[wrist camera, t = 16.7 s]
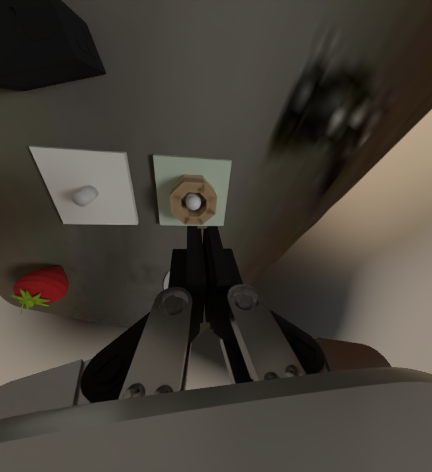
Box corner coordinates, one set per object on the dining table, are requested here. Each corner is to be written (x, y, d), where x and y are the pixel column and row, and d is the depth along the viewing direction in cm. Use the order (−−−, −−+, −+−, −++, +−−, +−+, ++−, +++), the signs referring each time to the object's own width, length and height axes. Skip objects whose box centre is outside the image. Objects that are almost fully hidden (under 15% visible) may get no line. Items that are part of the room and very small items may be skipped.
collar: (163, 194, 30) (160, 204, 26) (193, 165, 28) (194, 172, 24) (192, 220, 33) (193, 232, 30) (221, 196, 31) (225, 206, 28)
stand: (34, 145, 24) (6, 150, 21) (126, 152, 26) (115, 158, 23) (66, 221, 31) (50, 235, 27) (138, 222, 33) (132, 235, 29)
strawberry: (80, 280, 39) (51, 323, 31) (38, 273, 37) (-5, 318, 28) (81, 261, 36) (50, 303, 28) (36, 252, 34) (-13, 295, 26)
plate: (154, 154, 27) (147, 161, 23) (230, 159, 29) (237, 167, 24) (160, 222, 34) (156, 237, 29) (222, 223, 35) (227, 238, 31)
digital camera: (80, 4, 18) (31, -46, 13) (107, 73, 21) (78, 58, 16) (-18, 24, 18) (-112, -18, 13) (24, 91, 21) (-37, 82, 16)
